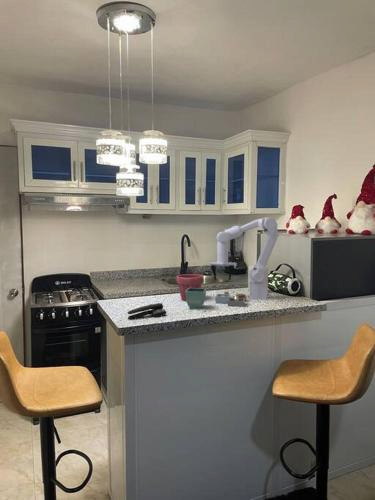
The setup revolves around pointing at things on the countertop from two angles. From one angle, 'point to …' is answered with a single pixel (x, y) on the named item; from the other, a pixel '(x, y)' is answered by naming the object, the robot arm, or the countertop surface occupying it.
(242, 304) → the tray
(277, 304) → the countertop surface
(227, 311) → the countertop surface
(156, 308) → the can opener
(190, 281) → the plant pot
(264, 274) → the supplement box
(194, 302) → the flower pot
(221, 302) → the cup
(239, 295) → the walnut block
